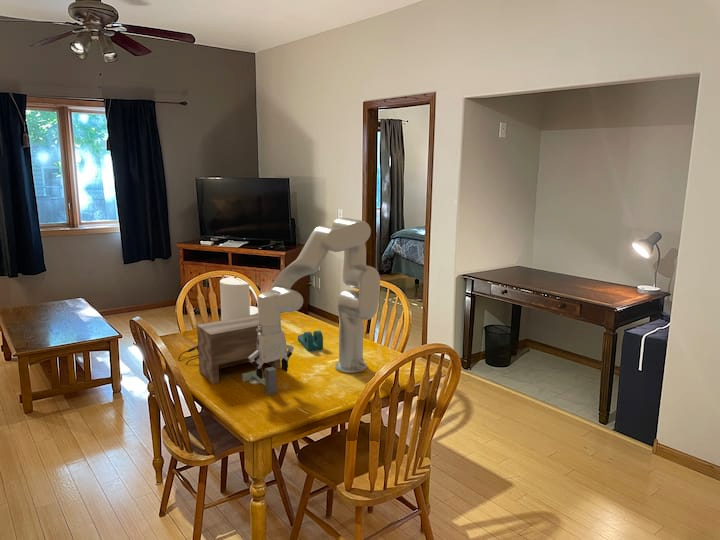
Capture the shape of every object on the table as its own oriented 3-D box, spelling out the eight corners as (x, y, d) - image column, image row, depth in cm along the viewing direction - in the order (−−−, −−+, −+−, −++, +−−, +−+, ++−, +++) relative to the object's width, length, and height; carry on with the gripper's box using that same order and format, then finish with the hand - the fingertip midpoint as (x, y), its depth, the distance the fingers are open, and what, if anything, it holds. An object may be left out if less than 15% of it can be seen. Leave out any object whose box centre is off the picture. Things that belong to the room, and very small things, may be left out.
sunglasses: (215, 358, 224) (213, 347, 222) (189, 370, 216) (187, 358, 214) (201, 352, 231) (199, 341, 229) (176, 363, 223) (174, 352, 221)
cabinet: (280, 367, 215) (279, 321, 211) (213, 383, 199) (210, 334, 195) (264, 356, 226) (263, 313, 222) (199, 371, 210) (196, 324, 206)
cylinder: (232, 349, 234) (230, 286, 229) (215, 338, 247) (213, 279, 242) (268, 341, 245) (266, 281, 239) (249, 331, 258) (248, 274, 252)
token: (265, 383, 201) (265, 380, 200) (252, 386, 198) (252, 383, 198) (259, 378, 205) (259, 375, 204) (247, 381, 202) (247, 378, 202)
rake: (283, 391, 193) (282, 367, 191) (262, 397, 188) (262, 372, 187) (261, 375, 207) (261, 353, 205) (242, 380, 202) (241, 358, 200)
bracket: (323, 350, 235) (323, 333, 233) (308, 352, 232) (308, 334, 231) (309, 337, 251) (309, 321, 250) (295, 339, 249) (295, 323, 247)
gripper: (251, 336, 179) (254, 384, 183) (297, 325, 189) (299, 371, 193) (242, 330, 185) (245, 376, 189) (286, 320, 195) (288, 364, 199)
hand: (272, 374), depth 191 cm, fingers open, 9 cm apart
